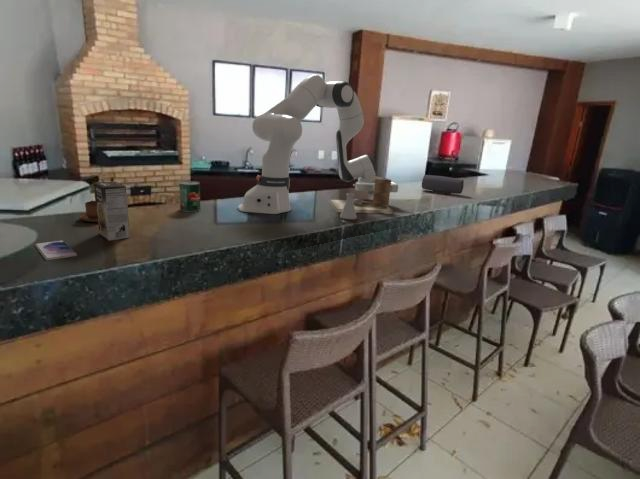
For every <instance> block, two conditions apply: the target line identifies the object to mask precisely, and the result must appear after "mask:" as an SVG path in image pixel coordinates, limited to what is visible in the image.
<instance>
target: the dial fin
mask: <svg viewBox="0 0 640 479" xmlns="http://www.w3.org/2000/svg"><path fill="white" fill-rule="evenodd" d="M388 179H389V178H387V179H375V188H374V194H373V199H372V201H373V203H371V202H362V201H363V199H362V198H361V199H360V198H353V200H354V201H353V203H354V205H376V206H388V207H389V206H390V205H389V203H390V194H391V192H390V187H391V181H392V179H391V180H388Z"/></svg>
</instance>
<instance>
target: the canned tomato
mask: <svg viewBox="0 0 640 479" xmlns="http://www.w3.org/2000/svg"><path fill="white" fill-rule="evenodd" d="M178 185H179V189H178V190H179V207H180V208H179V209H180V211H181V212H187V213H193V212H200V211H201V183H200V181H194V180H184V181H179V182H178Z"/></svg>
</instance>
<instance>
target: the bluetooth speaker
mask: <svg viewBox="0 0 640 479" xmlns="http://www.w3.org/2000/svg"><path fill="white" fill-rule="evenodd" d="M422 177H423V178H422V181H421V188H422V189H424V190H429V191H431V192H432V193H434V194H442V195H451V194H454V195H455V194H458V195H459V194H462V193H463V189H464V184H465V183H464V179H462V178H456V177H452V176H451V177H450V176H443V175H434V174H433V175H432V174H424V175H423V176H422Z"/></svg>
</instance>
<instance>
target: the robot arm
mask: <svg viewBox="0 0 640 479" xmlns="http://www.w3.org/2000/svg"><path fill="white" fill-rule="evenodd" d="M315 107H317V108H326V109H327V108H329V109H334V108H335V109H337V113H338V119H339V128H338V130H337V131H336V135H335V139H336V141H335V142H336V153H337V161H338V163H337V164H338V176H339V178H340V179H341V180H342V181H343V182H346V183H351V182H353V181H354V180H356V179H357V181H356V182H355V183H352V186H353V187H355V188H354V189H355V191H357V192H365V193H367V194H369V195H374V188H375V179H388V180H391V187H390V193H398V191H399V184H398V183H397V182H394V181H392V179H390V178H384V177H380V176H377V174H378V166H377V163H376V161H375V159H374V158H373V157H372V156H371V155H369V154H364V155H361V156H357V157H355V158H353V159H350V160H348V155H347V145H348V143H349V142H350V141H351V140H352V138H354V137H355V136H356V135H357V134H359V133H360V132H361V130H362V129H363V127H364V124H365V119H364V118H365V117H364V113H363V109H362V105H361V103H360V100H359V97H358V95H357V93H356V92H355V91H354V89H353V87H352V85H351V83H349V82H348V81H344V80H340V81H339V80H338V81H336V80H330V81H329V80H328V81H325V79H324V78H322V77H321V75H319V74H310V75H309V76H306V77H305V78H304V79H303V80H301V82H299V83H298V84H297V85H296V86H295V87H294V89H292V91H291V92H290V93H289V94H288V95H287V96H286V97H285V98H284V99H283V100H281V101H280V102H278V103H277V104H276V105H274V106H273V107H271V108H270V109H268V110H267V111H266V112H263V113H262V114H260V115H258V116H257V117H255V118H254V119H253V122H252V132H253V134H254V135H255V136H256V137H257V138H258V139H261V140H262V141H265V142H269V144H268V148H267V150H266V152H265V153H264V154H263V155H262V160H261V161H262V165H261V166H262V167H261V169H262V170H261V175H259V174H257V176H256V178H255V179H256V185H254V186H253V187H251V188H250V189H248V190H247V191H246V192H245V194H244V196H243V202H241V203H240V204H238V206H237V209H238V211H239V212H241V213H242V212H244V213H254V214H255V213H256V214H257V213H258V214H269V215H271V214H272V215H277V214H281V213H286V212H287V213H288V212H290V211H291V210H292V208H291V203H290V194H289V193H290V192H289V189H290V184H291V183H290V182H291V180H290V179H291V178H290V176H289V175H290V174H289V171H290V170H289V169H290V158H291V154H292V152H293V151H292V150H293V149H294V146H295V144H296V143H297V141H299V140H300V139H301V136H302V134H303V126H302V123H301V121H303V120H304V119H305V118H306V117H307V116H308V115H309V114H310V113H311V111H313V109H314V108H315Z"/></svg>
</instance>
